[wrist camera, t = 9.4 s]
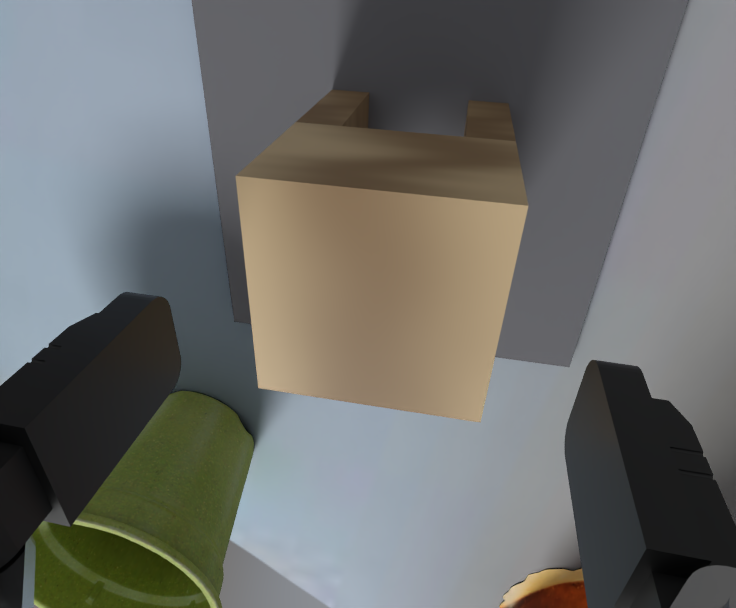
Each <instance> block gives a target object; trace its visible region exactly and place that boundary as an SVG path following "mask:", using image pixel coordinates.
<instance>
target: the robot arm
mask: <svg viewBox="0 0 736 608" xmlns="http://www.w3.org/2000/svg"><path fill="white" fill-rule="evenodd" d="M180 370H181V356H180V351H179V347H178V342H177V337H176V332H175V328H174V323H173V318H172V313H171V309H170V305H169V303H168V301H167V300H166V299H165V298H163V297H158V296H151V295H144V294H137V293H130V292H125V293H122V294H120V295H119V296H118V297H117V298H116V299H114V300H113V301H112V302H111V303H110V304H109V305H108V306H107V307H105V308H104V309H103V310H102V311H101V312H100V313H95V314H93V315H91V316H89V317H87V318H85V319H83V320H81V321H79V322H77V323H75V324H73V325H71V326H69V327H68V328H67V329H66V330H65V331H63V332H62V333H61V334H60V335H59V336H58V337H56V338H55V339H54V340H53V341H52V342H51V343H49V347H48V348H44V349H43V350H41V351H40V352H39V353H38V354H37V355H36V356H34V357H33V358H32V362H31V363H28V362H27V363H26V364H25V365H24V366H23V367H22V368H21V369H19V370H18V371H17V372H16V373H15V374H14V375H12V376H11V377H10V378H9V379H8V380H7V381H5V382H4V383H3V384H2V385H1V386H0V608H34V583H35V554H36V545H35V540H34V538H33V536H32V534H33V533H34V532H35V530H36V529H37V528H38V527H39V525H40V524H41V523H42V522H43V521H46V522H50V523H55V524H60V525H64V526H69V527H71V526H72V524H73V523H74V522H75V520H76V519H77V518H78V516H79V515H80V514H81V512H82V511H83V510H84V508H85V507H86V506H87V504H88V503H89V502H90V500H91V499H92V498H93V496H94V495H95V493H96V492H97V491H98V489H99V488H100V487H101V485H102V484H103V483H104V481H105V480H106V479H107V477H108V476H109V475H110V473H111V472H112V471H113V469H114V468H115V467H116V465H117V464H118V463H119V461H120V460H121V459H122V457H123V456H124V455H125V453H126V452H127V451H128V449H129V448H130V446H131V445H132V444H133V442H134V441H135V440H136V438H137V437H138V436H139V434H140V433H141V432H142V430H143V429H144V428H145V426H146V425H147V424H148V422H149V421H150V420H151V418H152V417H153V416H154V414H155V413H156V412H157V410H158V409H159V408H160V406H161V405H162V404H163V402H164V401H165V400H166V398H167V397H168V395H169V394H170V393H171V391H172V390H173V389H174V387H175V385H176V383H177V381H178V378H179V375H180ZM565 459H566V466H567V472H568V479H569V486H570V492H571V499H572V506H573V512H574V519H575V526H576V532H577V539H578V546H579V552H580V559H581V566H582V572H583V579H584V585H585V592H586V599H587V605H588V608H736V526H735V524H734V521H733V519H732V517H731V514H730V512H729V510H728V508H727V505H726V503H725V501H724V498H723V496H722V494H721V491H720V489H719V487H718V485H717V482H716V481H715V480H713V473H712V471H711V468H710V466H709V464H708V462H707V459H706V457H703V450H702V448H701V445H700V443H699V441H698V438H697V436H696V434H695V432H694V429H693V427H692V425H691V424H690V423H689V422H688V421H687V420H686V419H685V418H684V416H683V415H682V414H681V413H680V412H679V411H678V410H677V409H676V408H675V407H674V406H673V405H672V404H671V403H670V402H669V401H667V400H661V399H654V398H652V397H651V395H650V392H649V389H648V387H647V384H646V381H645V378H644V376H643V373H642V371H641V369H640V368H639V367H638V366H632V365H625V364H618V363H611V362H604V361H597V360H591V361H590V362H589V364H588V366H587V368H586V370H585V373H584V376H583V379H582V382H581V385H580V388H579V391H578V394H577V397H576V399H575V402H574V405H573V408H572V411H571V414H570V417H569V420H568V423H567V428H566V434H565Z"/></svg>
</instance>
